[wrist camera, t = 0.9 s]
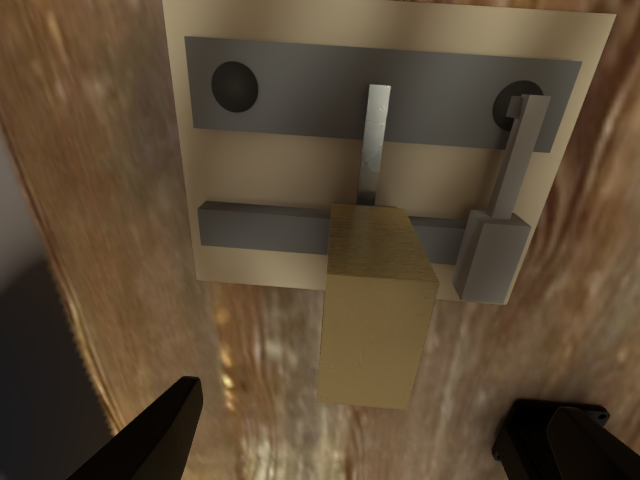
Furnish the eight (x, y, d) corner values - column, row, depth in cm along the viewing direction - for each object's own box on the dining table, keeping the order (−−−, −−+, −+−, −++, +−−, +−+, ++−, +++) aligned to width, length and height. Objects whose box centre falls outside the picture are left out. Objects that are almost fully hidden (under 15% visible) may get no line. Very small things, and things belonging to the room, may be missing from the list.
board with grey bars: (595, 18, 14) (682, 0, 11) (498, 292, 20) (531, 339, 17) (173, -7, 15) (119, -34, 11) (204, 269, 21) (175, 310, 17)
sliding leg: (412, 86, 14) (487, 98, 7) (381, 279, 18) (406, 409, 11) (340, 81, 14) (341, 89, 7) (325, 275, 18) (316, 402, 11)
